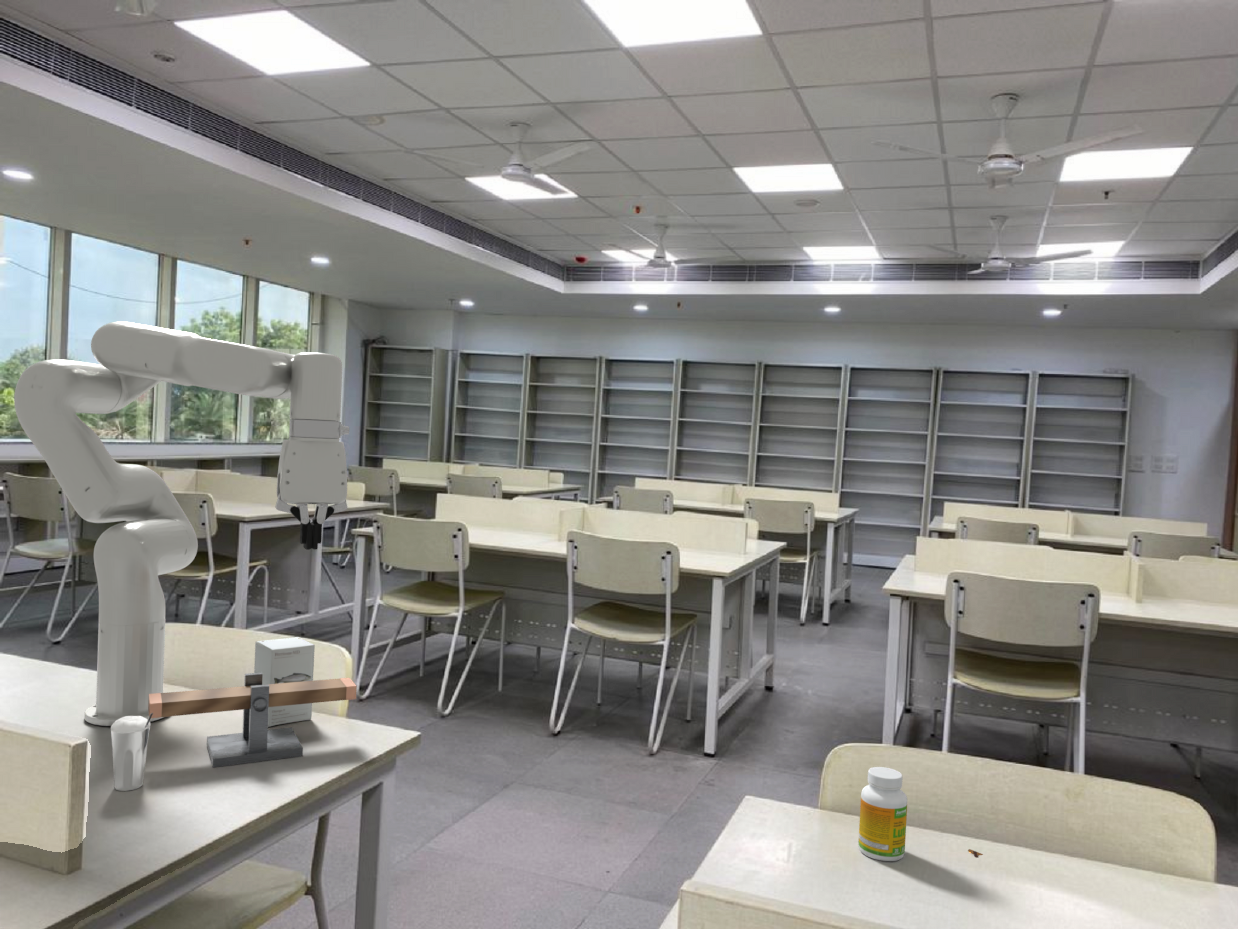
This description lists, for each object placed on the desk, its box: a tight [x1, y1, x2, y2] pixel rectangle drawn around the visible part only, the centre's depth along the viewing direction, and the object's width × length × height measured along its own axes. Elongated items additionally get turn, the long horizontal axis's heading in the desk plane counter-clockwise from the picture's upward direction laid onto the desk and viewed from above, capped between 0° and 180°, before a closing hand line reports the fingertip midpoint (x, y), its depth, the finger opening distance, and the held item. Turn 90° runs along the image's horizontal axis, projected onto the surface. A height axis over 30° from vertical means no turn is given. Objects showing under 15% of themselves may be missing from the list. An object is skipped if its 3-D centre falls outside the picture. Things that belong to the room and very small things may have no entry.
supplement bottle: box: [857, 766, 908, 862], centre depth 107 cm, size 5×5×10 cm
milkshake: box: [110, 713, 153, 792], centre depth 116 cm, size 5×5×10 cm
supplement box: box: [253, 636, 316, 728], centre depth 146 cm, size 7×7×13 cm
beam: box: [148, 677, 358, 718], centre depth 131 cm, size 28×5×2 cm, turn 119°
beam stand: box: [206, 672, 304, 768], centre depth 131 cm, size 12×10×10 cm
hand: (310, 548), depth 140 cm, fingers closed
